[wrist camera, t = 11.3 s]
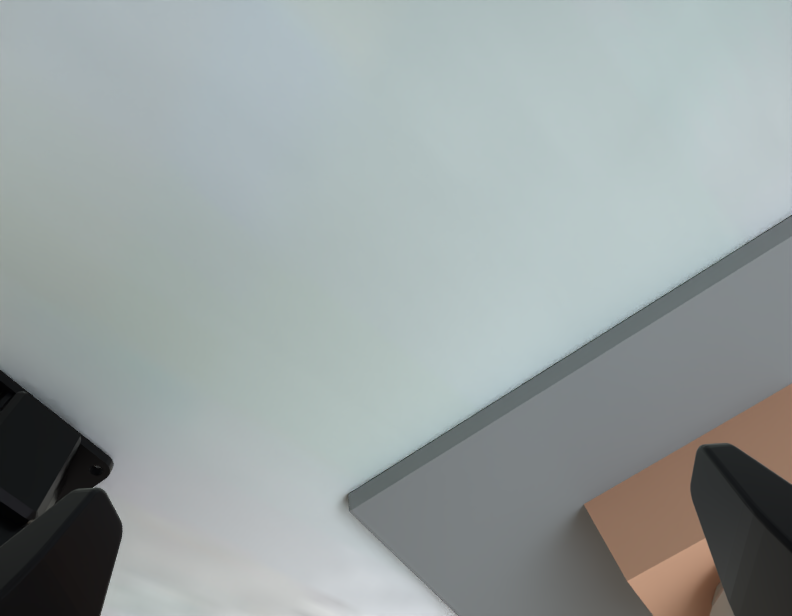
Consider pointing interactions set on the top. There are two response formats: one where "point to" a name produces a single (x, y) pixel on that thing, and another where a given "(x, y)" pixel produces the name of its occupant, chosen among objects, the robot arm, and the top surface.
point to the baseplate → (584, 445)
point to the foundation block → (684, 512)
